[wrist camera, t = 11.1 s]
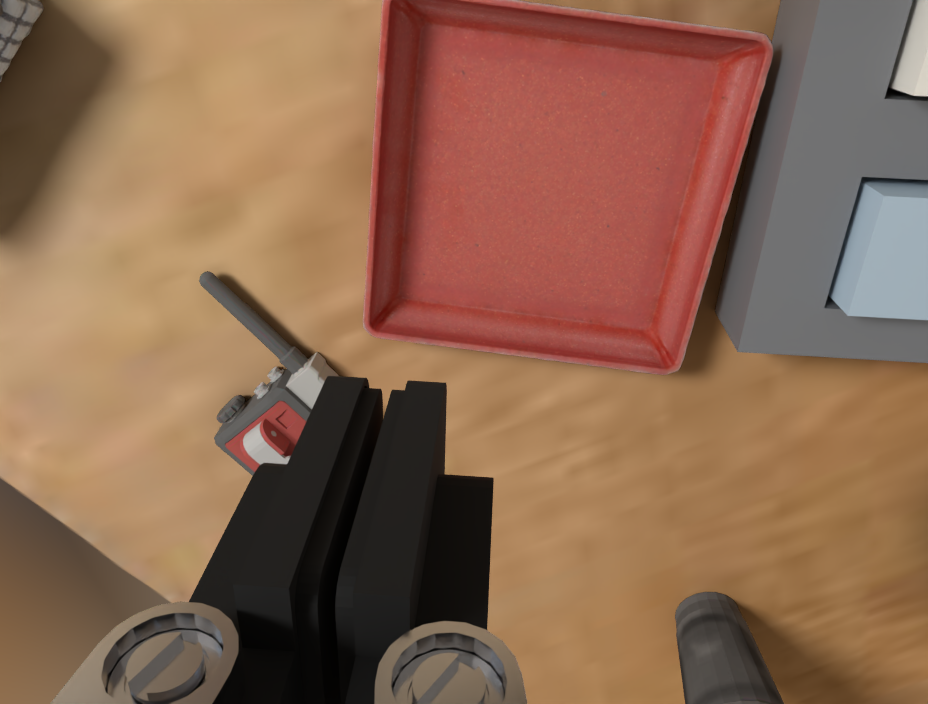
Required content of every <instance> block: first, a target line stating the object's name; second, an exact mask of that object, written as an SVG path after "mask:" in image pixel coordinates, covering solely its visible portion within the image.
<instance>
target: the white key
mask: <svg viewBox="0 0 928 704" xmlns="http://www.w3.org/2000/svg"><path fill="white" fill-rule="evenodd" d="M888 87H890V88H893V89H896V90H898V91H901V92H904V93H907V94H910V95H913V96H928V0H913V1H912V5H911V8H910V12H909V15H908V19H907V22H906V26H905V29H904V33H903V36H902V39H901V43H900V46H899V50H898V53H897V57H896V60H895V64H894V67H893V71H892V74H891V78H890V81H889V85H888Z"/></svg>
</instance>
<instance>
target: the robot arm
mask: <svg viewBox="0 0 928 704" xmlns="http://www.w3.org/2000/svg"><path fill="white" fill-rule="evenodd" d="M446 396H447V388H446V383H439V382H422V381H407V384H406V388H405V390H392V391H391V394H390V398H389V401H388V405H387V408H386V412H385V415H384V419H383V399H382V391H381V389H372V388H369V383H368V379H367V378H357V377H340V376H327V378H326V380H325V382H324V384H323V386H322V388H321V391H320V393H319V395H318V397H317V399H316V402H315V404H314V406H313V408H312V410H311V413H310V415H309V417H308V419H307V421H306V424H305V426H304V428H303V430H302V432H301V435H300V437H299V439H298V441H297V443H296V446H295V448H294V450H293V452H292V455H291V457H290V459H289V461H288V463H287V464H277V463H263V464H261V465H259V467H258V468H257V470H256V471H255V473H254V475H253V477H252V479H251V481H250V483H249V485H248V487H247V489H246V491H245V493H244V494H243V496H242V498H241V500H240V502H239V504H238V506H237V508H236V510H235V512H234V514H233V516H232V518H231V520H230V522H229V524H228V526H227V528H226V530H225V532H224V534H223V536H222V538H221V540H220V542H219V544H218V546H217V548H216V549H215V551H214V553H213V555H212V557H211V559H210V561H209V563H208V565H207V567H206V569H205V571H204V573H203V575H202V577H201V579H200V581H199V583H198V585H197V587H196V589H195V591H194V593H193V595H192V597H191V599H190V601H189V602H175V603H169V604H163V605H158V606H155V607H153V608H150V609H147V610H145V611H142V612H140V613H137V614H135V615H133V616H132V617H130V618H129V619H127V620H125V621H124V622H122V623H121V624H119V625H117V626H116V627H115V628H114V629H113V630H112V631H111V632H110V633H109V634H108V635H107V636H106V637H105V638H104V639H103V640H102V641H101V642H99V644H98V645H97V646H96V647H95V649H94V650H93V651H92V653H91V654H90V655H89V656H88V657H87V659H86V660H85V661H84V662H83V664H82V665H81V666H80V668H79V669H78V670H77V671H76V672H75V674H74V675H73V676H72V678H71V679H70V680H69V681H68V682H67V684H66V685H65V686H64V687H63V688H62V690H61V691H60V692H59V694H58V695H57V696H56V697H55V698H54V700H53V701H52V702H51V704H527V700H526V694H525V689H524V683H523V678H522V674H521V671H520V668H519V666H518V663H517V660H516V658H515V656H514V655H513V653H512V652H511V651H510V650H509V648H508V647H507V646H506V645H505V643H504V642H503V641H502V640H500V639H499V638H497V637H496V636H494V635H493V634H491V633H490V632H489V631H487V618H488V595H489V572H490V549H491V526H492V503H493V478H489V477H474V476H459V475H444V471H445V434H446Z"/></svg>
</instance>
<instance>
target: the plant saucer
mask: <svg viewBox="0 0 928 704" xmlns="http://www.w3.org/2000/svg"><path fill="white" fill-rule="evenodd" d="M773 49H774V48H773V44H772V42H771V40H770V39H769V37H768V36H767V35H766V34H764V33H760V32H754V31H746V30H737V29H730V28H723V27H715V26H708V25H698V24H691V23H684V22H677V21H670V20H662V19H655V18H648V17H639V16H632V15H624V14H618V13H609V12H602V11H596V10H587V9H578V8H573V7H564V6H557V5H551V4H542V3H533V2H527V1H520V0H383V1H382V12H381V31H380V44H379V56H378V77H377V89H376V107H375V123H374V136H373V162H372V172H371V193H370V209H369V230H368V246H367V262H366V281H365V296H364V314H363V326H364V329H365V330H366V331H367V332H368V333H369V334H370V335H371V336H373V337H377V338H381V339H389V340H397V341H405V342H413V343H420V344H428V345H437V346H445V347H453V348H460V349H468V350H476V351H482V352H490V353H499V354H506V355H513V356H523V357H529V358H537V359H543V360H554V361H560V362H566V363H576V364H584V365H590V366H597V367H607V368H612V369H621V370H628V371H634V372H644V373H650V374H660V375H667V374H670V373H673V372H676V371H678V370H679V369H680V367H681V365H682V362H683V360H684V356H685V352H686V348H687V344H688V341H689V339H690V336H691V332H692V329H693V326H694V322H695V318H696V315H697V312H698V308H699V305H700V302H701V298H702V294H703V290H704V287H705V284H706V281H707V278H708V275H709V271H710V268H711V264H712V259H713V256H714V253H715V250H716V246H717V243H718V240H719V238H720V234H721V230H722V226H723V222H724V219H725V216H726V213H727V211H728V208H729V204H730V201H731V197H732V193H733V189H734V186H735V183H736V179H737V175H738V172H739V169H740V166H741V162H742V158H743V155H744V152H745V149H746V146H747V144H748V139H749V135H750V131H751V128H752V125H753V122H754V119H755V115H756V112H757V109H758V106H759V102H760V98H761V95H762V92H763V89H764V86H765V82H766V78H767V75H768V71H769V68H770V65H771V61H772V57H773Z"/></svg>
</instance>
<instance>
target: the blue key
mask: <svg viewBox="0 0 928 704" xmlns="http://www.w3.org/2000/svg"><path fill="white" fill-rule="evenodd" d="M828 295H829V296H830V297H831V298H832V299H833V301H834V302H835V303H836V304H837V305H838V306H839V307H840V308H841V309H842V310H843V311H844V312H845V313H846V315H847V316H861V317H878V318H896V319H914V320H928V180H917V179H897V178H877V177H862V178H861V182H860V185H859V189H858V192H857V196H856V199H855V203H854V206H853V210H852V213H851V217H850V220H849V224H848V227H847V231H846V234H845V238H844V241H843V244H842V248H841V251H840V255H839V258H838V262H837V265H836V269H835V272H834V276H833V279H832V283H831V286H830V290H829V293H828Z"/></svg>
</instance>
